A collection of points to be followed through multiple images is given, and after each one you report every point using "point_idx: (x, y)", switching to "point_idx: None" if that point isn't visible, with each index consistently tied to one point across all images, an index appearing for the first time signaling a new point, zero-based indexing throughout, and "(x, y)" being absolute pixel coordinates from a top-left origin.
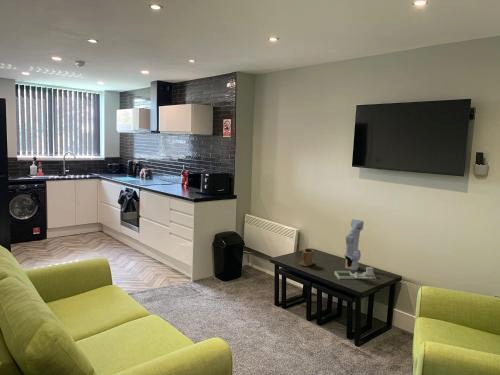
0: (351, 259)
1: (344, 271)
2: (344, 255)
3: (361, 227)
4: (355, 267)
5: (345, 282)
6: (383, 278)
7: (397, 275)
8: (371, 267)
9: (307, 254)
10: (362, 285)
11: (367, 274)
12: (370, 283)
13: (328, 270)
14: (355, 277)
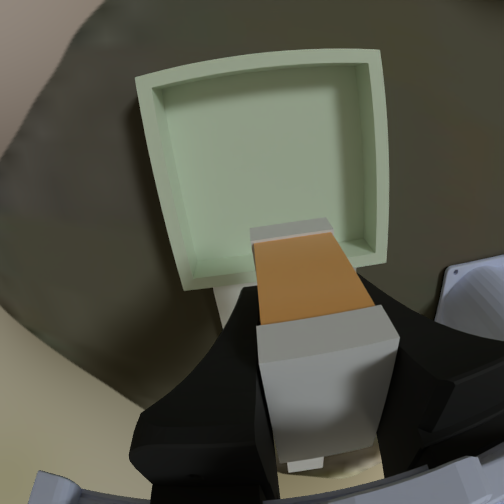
0: (41, 489)
1: (376, 191)
2: (431, 472)
3: None
4: (456, 329)
5: (91, 158)
6: (274, 443)
7: (324, 476)
8: (317, 466)
9: None
10: (76, 311)
11: None
12: (147, 374)
13: (464, 30)
14: (237, 292)
